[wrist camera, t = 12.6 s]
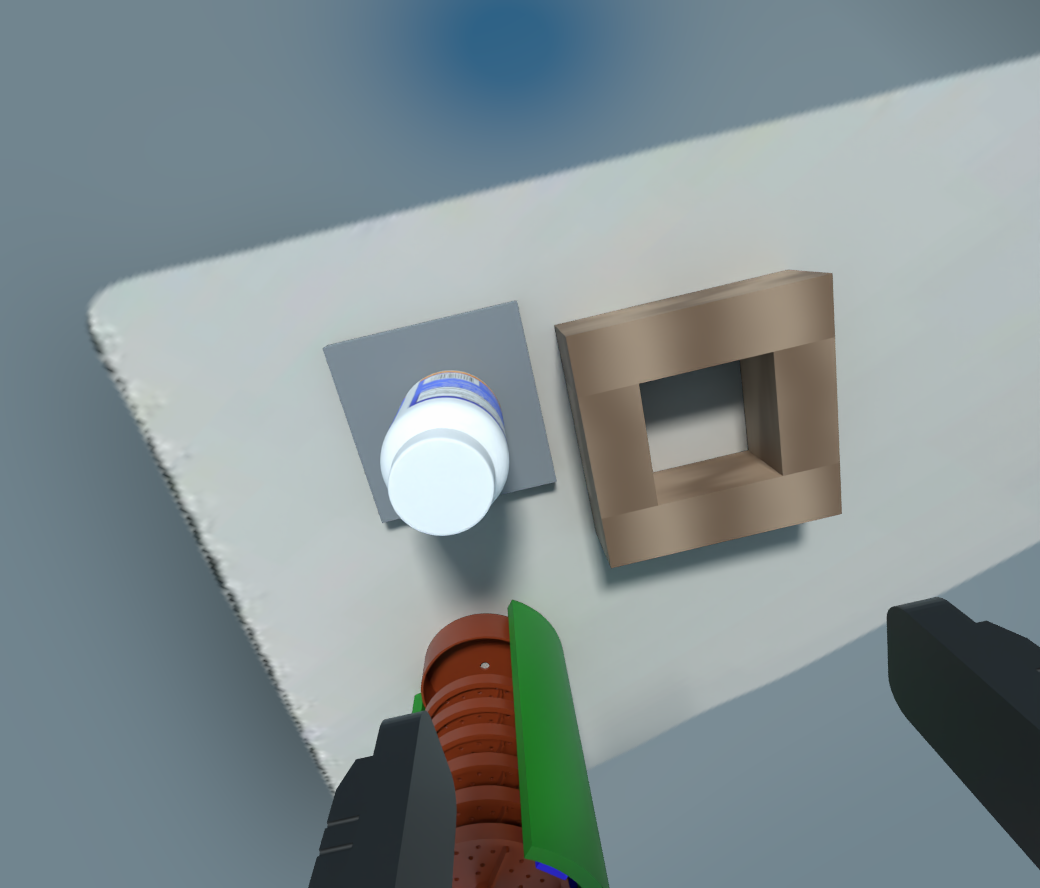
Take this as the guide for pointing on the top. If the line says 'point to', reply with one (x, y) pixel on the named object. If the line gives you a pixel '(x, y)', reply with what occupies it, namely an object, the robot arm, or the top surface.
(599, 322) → the socket block
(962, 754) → the robot arm
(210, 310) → the top surface
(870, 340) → the top surface
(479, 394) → the pill bottle
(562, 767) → the green brown cylinder
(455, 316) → the mat
